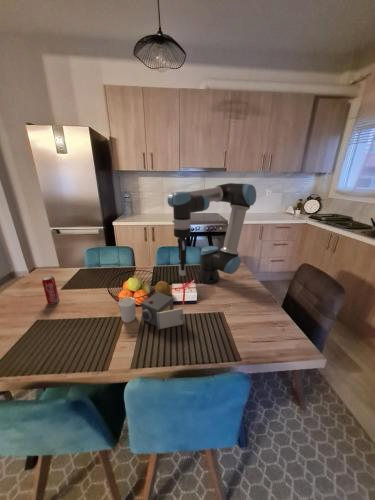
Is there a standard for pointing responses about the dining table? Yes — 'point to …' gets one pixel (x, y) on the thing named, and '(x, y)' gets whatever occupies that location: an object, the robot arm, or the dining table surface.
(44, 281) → the beverage can
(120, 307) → the white cup
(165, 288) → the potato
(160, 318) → the side door
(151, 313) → the camera body
